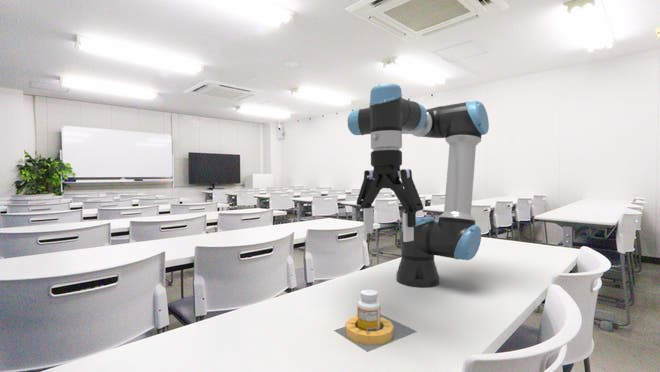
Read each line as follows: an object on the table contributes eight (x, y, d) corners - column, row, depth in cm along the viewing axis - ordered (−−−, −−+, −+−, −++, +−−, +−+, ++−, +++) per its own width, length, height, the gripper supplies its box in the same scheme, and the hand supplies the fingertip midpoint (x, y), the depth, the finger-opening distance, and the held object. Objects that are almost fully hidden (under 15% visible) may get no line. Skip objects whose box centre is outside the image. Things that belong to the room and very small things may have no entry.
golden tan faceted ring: (336, 330, 78) (336, 322, 78) (370, 319, 85) (370, 311, 85) (367, 350, 69) (367, 340, 69) (402, 335, 76) (402, 327, 76)
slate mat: (333, 332, 78) (333, 330, 78) (381, 316, 88) (381, 314, 88) (367, 354, 69) (367, 351, 69) (417, 333, 78) (417, 331, 78)
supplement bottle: (365, 325, 81) (365, 286, 81) (384, 332, 77) (384, 291, 77) (353, 333, 77) (353, 292, 76) (372, 340, 73) (372, 297, 73)
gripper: (342, 153, 87) (344, 231, 88) (416, 145, 67) (417, 247, 67) (364, 153, 91) (365, 228, 92) (439, 146, 71) (439, 242, 72)
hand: (387, 236), depth 80 cm, fingers open, 13 cm apart
